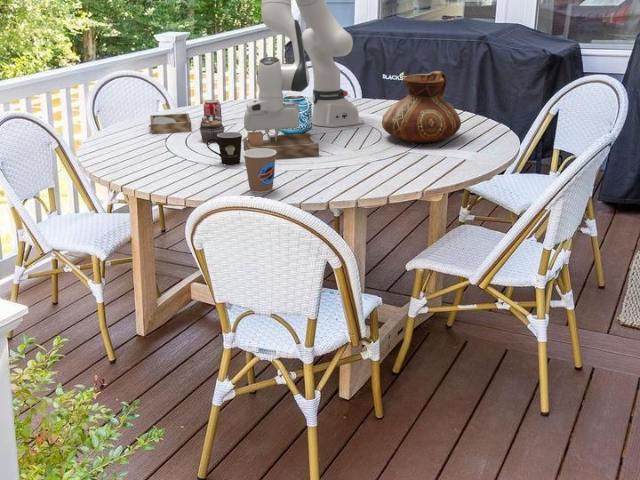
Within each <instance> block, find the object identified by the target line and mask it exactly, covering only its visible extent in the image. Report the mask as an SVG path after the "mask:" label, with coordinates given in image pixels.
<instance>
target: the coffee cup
mask: <svg viewBox="0 0 640 480" xmlns="http://www.w3.org/2000/svg"><path fill="white" fill-rule="evenodd" d="M276 153H277V152H276V151H275V150H272V149H266V148H257V149H250V150H247V151H243V153H242V154H243V156H244V163H245V168H246V169H245V170H246V175H247V180H248V186H249V189H250V190H249V191H250V192H252V193H255V194H256V193H258V194H263V192H265V193H269V192H272V191H273V187H274V179H275V173H276V172H275V169H276V167H275V166H276V165H275V164H276V159H275V156H276V155H275V154H276ZM268 191H269V192H268Z"/></svg>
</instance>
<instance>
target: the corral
mask: <svg viewBox="0 0 640 480" xmlns="http://www.w3.org/2000/svg"><path fill="white" fill-rule="evenodd" d="M149 117H150V129H151V130H150V131H151V135H161V134H162V135H165V134H178V133H191V132H192V121H191V117H190V115H189V113H186V112H185V113H171V114H169V113H168V114H154V115H152V114H151V115H149ZM155 117H168V118H172V119H174V120H175V121H176V123H160V124H153V118H155Z"/></svg>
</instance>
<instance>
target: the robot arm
mask: <svg viewBox="0 0 640 480" xmlns="http://www.w3.org/2000/svg"><path fill="white" fill-rule="evenodd" d="M295 3H296V6H297V8H298V10H299V12H300V16H301V18H302V20H303V22H304V23H305V25H307V26H308V28H306V29H305V30H304V31H302V28H301V25H300V22H299V21H298V20H297V19H295V18H294V16H293V14H292V0H261V7H260V10H261V13H260V14H261V21H262V22H263V24H264V25H265V26H266V27H267V28H268V29H269V30H271V31H272V32H274V33H277V34H280V35H281V36H285V37H286V38H288V39H289V40H290V41H291V44H292V51H293V58H294V62H293V63H281V60H280V59H279V58H278V57H275V56H266V57H263V58H261V59H260V60H259V61H258V68H257V73H256V80H257V83H256V84H257V86H258V88H259V89H258V90H259V93H258V98H255V99H254V100H251V101H248V102H246V110H245V112H244V115H243V116H244V117H243V118H244V119H243V127H244V130H245V131H247V132H258V131H264V132H265V134H266V136H267V137H268V139H267V140H268V141H269V142H271V141H277V136H278V135H280V130H285V129H286V130H287V129H298V128H299V126H300V124H301V123H300V117H299V113H300V110H301V109H300V105H299V104H298V103H296V102H295V101H294V102H284V94H283V92H284V91H288V92H289V91H290V92H299V93H302V92H303V91H305V90H306V89H307V88H308V86H309V84H310V72H309V69H308V65H307V60H306V54H307V56H308V58H309V61H310V64H311V66H312V72H313V89H312V102H313V107H312V108H313V109H312V115H311V119H312V125H313V126H320V127H328V128H337V127H338V128H339V127H347V126H356V125H363V124H364V123H365V120H364V118H363V117H361V116H360V115H359V110H358V108H357V106H356V105H355V104H354V103H352V102H351V101H350V100H348V99H347V98H346V97H347V96H348V95H349V92H348V90H344V89H342V88H341V69H340V68H339V67H338V66H337V64H336V62H335V60H334V58H340V57H345V56H348V55H349V54H350V53H351V51H352V50H353V46H354V41H353V36H352V35H351V33H349V32H348V31H346V29H344V28H343V27H342V25H341V24H340V23H339V22H338V20H337V19H336V17H334V15H333V13H332V12H331V10H330V8H329V5H328V3H327V1H326V0H295ZM305 52H306V54H305ZM271 130H274V131H275V133H274V134H273V135H274V136H273V135H270V131H271Z"/></svg>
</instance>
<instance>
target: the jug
mask: <svg viewBox="0 0 640 480" xmlns="http://www.w3.org/2000/svg"><path fill="white" fill-rule="evenodd" d="M402 81H403V82H404V84H405V87H406V89H407V92H408V94H407V95H406V97H404V98H402V99H400V100H398V101H397V102H394V103H393V104H392V105H390V107H389V108H388V109H387V111H386V112H385V113H384V115H383V116H382V121H381V125H382V126H381V127H382V128H383V130H384V131H385V132H386V133H388V134H389V135H390V136H391V137H393V138H395V139H397V140H399V142H402V143H406V144H411V145H420V146H421V145H422V146H423V145H425V146H426V145H436V144H440V143H443V142H445V141H446V140H448V139H450V138H452V137H453V136H454V135H455V134H456V133H458V131H459V130H460V129H461V124H462V121H461V118H460V116H459V114H458V112H457V110H456V109H455V107H454V106H453V105H452V104H451V103H450V102H448V101H446V100H445V98H444V95H445V90H446V89H447V86H448V85H447V83H448V79H447V75H446V73H445V72H443V71H440V70H439V71H438V70H437V71H436V70H433V71H432V72H429V73H417V74H409V75H406V76H404V77H403V78H402Z"/></svg>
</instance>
